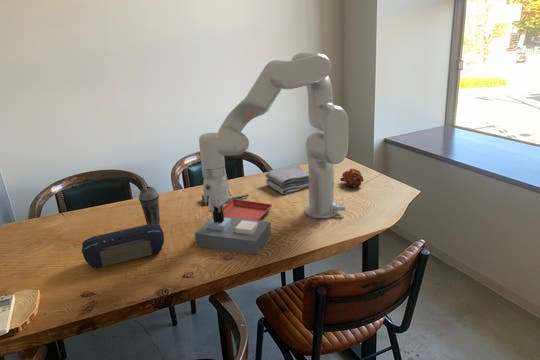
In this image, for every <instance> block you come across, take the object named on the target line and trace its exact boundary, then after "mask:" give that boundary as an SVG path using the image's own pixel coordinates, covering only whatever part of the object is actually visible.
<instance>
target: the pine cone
mask: <svg viewBox="0 0 540 360" xmlns="http://www.w3.org/2000/svg"><path fill="white" fill-rule="evenodd" d="M341 177H342V178H341ZM341 177H340V178H339V179H340V182H344V183H345V185H346V186H347V187H353V188H357V187H359V186H361V185H362V182H364V176H363V174H362V172H361V171H360V170H358V169H356V168H351V167H350V168H349V170H345V171H344V172H342V176H341Z"/></svg>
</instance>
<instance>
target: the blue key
mask: <svg viewBox="0 0 540 360" xmlns="http://www.w3.org/2000/svg"><path fill="white" fill-rule="evenodd" d="M230 225H231V219H230V218H224V221H223V222H222V223H218V222H214V219H213V220H212V221H211V222H210V223H209V224H208V227H209V229H210V230H218V231H226V229H227V228H228V227H229V226H230Z"/></svg>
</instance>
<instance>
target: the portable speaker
mask: <svg viewBox="0 0 540 360" xmlns="http://www.w3.org/2000/svg"><path fill="white" fill-rule="evenodd" d="M164 243H165V234H164V231H163V228H162V226H161V224H160V225H157V224H147V223H146V224H143V225H139V226H134V227H129V228H126V229H121V230H116V231H113V232H109V233H103V234H98V235H94V236H91V237H89V238H87V239H85V240H83V241H82V244H81V245H82V246H81V252H82V256H83V259H84V261H85V263H87V264H88V265H89V267H90V268H93V269H102V268H103V267H104V268H105V267H107V266H111V265H115V264H119V263H123V262H127V261H130V260H131V261H132V260H136V259H140V258H143V257H146V256H147V257H148V256H152V255H156V254H158V253H160V252H161V251H162V250H163V246H164V245H165V244H164Z"/></svg>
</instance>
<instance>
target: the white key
mask: <svg viewBox="0 0 540 360" xmlns="http://www.w3.org/2000/svg"><path fill="white" fill-rule="evenodd" d="M257 228H258V222H252V221H244V220H242V221H241V222H240V223H239V224H238V225H237V227H236V228H235V232H236V233H241V234H249V235H253V234H254V232H255V231H256V230H257Z"/></svg>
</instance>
